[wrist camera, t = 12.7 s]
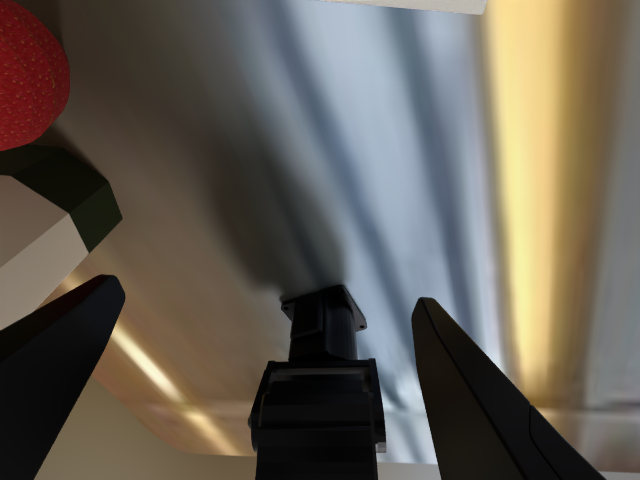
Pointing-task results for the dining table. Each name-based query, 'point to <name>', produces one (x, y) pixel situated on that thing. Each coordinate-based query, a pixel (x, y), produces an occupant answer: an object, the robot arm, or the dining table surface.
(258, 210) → the dining table surface
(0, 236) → the wine bottle
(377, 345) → the dining table surface
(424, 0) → the dimmer console
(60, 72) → the strawberry
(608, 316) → the dining table surface
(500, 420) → the robot arm
